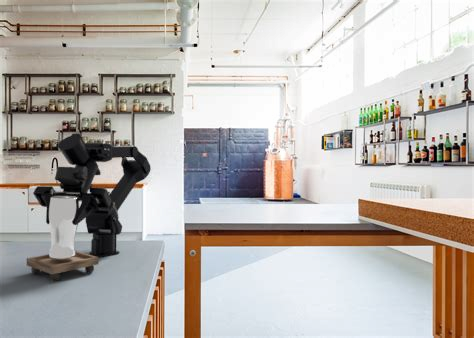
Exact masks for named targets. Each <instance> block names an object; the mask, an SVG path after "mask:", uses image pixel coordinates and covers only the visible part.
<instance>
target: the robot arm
mask: <svg viewBox="0 0 474 338" xmlns="http://www.w3.org/2000/svg"><path fill="white" fill-rule="evenodd" d="M57 148H59V151H60V152H61V154H62V155H63V156H64V158H65V160H66V161H67V162H68V164H69V165H71V166H57V168H56V173H55V176H54V180H55V181H57V182H58V183H60V184H59V187H60V189H61V190H62V191H59V190H55V189H54V187H53V185H52V186H51V185H50V186H49V185H46V186H45V185H38V186H36V187H35V189H34V190H33V192H32V193H33V195H34V197H35V199H36V200H37V202H38V204H39V205H40V206H41V207H43V208H46V212H45V215H46V217H45V222H46V224H47V225H49V206H50V197H52V196H77V197H79V202H81V203H80V204H79V210H78V212H77V215H76V217H75V219H74V225H77V224H78V225H79V223H81V222H82V221H83V220H85V225H86V229H87V234H92V239H91V246H90V248H91V250H90V251H89V255H92V256H96V257H107V256H112V255H116V254H120V251H119V250H117V238H118V237H117V236H118V235H120V234H121V233H122V231H123V225H122V223H121V222H120V220H119V212H118V211H119V209H120V208H121V207H122V205H123V204H124V202H125V200H126V199H127V197H128V196H129V194H131V192H132V190H133V189H134V187H135V186H136V184H137V183H140V182H142V181H143V180H145V179H146V178H147V177H148V176H149V174H150V173H151V164H150V162H149V160H148V158H147V156H145V155H144V154H143V153H142V152H140V151H139V149H138V147H137V146H136V145H129V144H128V145H126V144H125V145H113V144H111V143H109V142H105V141H103V142H101V141H99V142H98V141H97V142H95V141H93V142H92V141H89V142H88V141H87V142H84V140H83V137H82V135H81V134H80V133H79V132H77V133H76V132H75V133H72V134H71V135H69V136H67V137H65V138H63V139H62V140H60V141H59V142H58V145H57ZM113 158H115V159H116V158H121V162H120V163H121V164H120V165H121V167H122V173H123V175H122V177H121V178H120V179H119V181H118V182H117V183H116V185H115V186H114V188H113V189H112V191H111V192H110V193H109V192H108V189H107V188H106V187H94V186H93V184H92V183H93V180H94V178H95V176H101V175H102V174H101V173H102V172H101V170H100V168H99V165H98V163H107V162H111V161H112V160H113ZM128 158H133V159H128ZM72 165H73V166H72Z"/></svg>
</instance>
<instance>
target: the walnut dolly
mask: <svg viewBox="0 0 474 338" xmlns="http://www.w3.org/2000/svg"><path fill="white" fill-rule="evenodd" d="M49 254H50V253H49ZM49 254H44V255H37V256H31V257H26V266H27V267H30V270H31V273H32V275H35V274H39V273H40V272H41V271H42V272H44V273H47V274H50V280H51V282H55V281H58V280H60V277H61V275H60V273H65V272H69V271H70V272H71V271H76V270H78V269H83V268H84V270H85V272H86V273H87V274H90V273H94V272H95V271H94V270H95V266H98V265H99V256H97V255H93V254H88V253H84V252H81V251H76V250H75V254H76V256H75V257H74V258H72V259H66V260H54V259H50V258H49Z"/></svg>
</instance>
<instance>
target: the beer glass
mask: <svg viewBox="0 0 474 338" xmlns="http://www.w3.org/2000/svg"><path fill="white" fill-rule="evenodd" d="M79 208H80V201H79V197H77V196H52V197H50V206H49V224H48V225H49V227H48V228H49V232H50V239H51V243H50V249H49V258H50V259H54V260H66V259H72V258H74V257H75V256H76V254H75V251H76V246H75V239H76V236H77V230H78V226H79V223H78V224H77V225H74V219H75V217H76V215H77V212H78V210H79Z"/></svg>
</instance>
